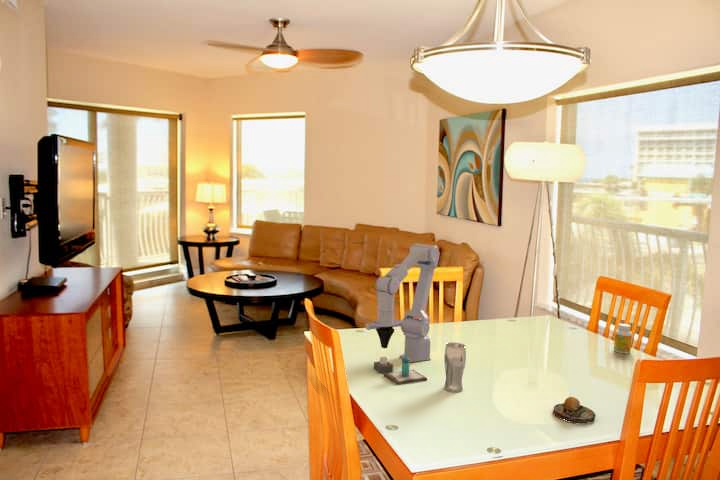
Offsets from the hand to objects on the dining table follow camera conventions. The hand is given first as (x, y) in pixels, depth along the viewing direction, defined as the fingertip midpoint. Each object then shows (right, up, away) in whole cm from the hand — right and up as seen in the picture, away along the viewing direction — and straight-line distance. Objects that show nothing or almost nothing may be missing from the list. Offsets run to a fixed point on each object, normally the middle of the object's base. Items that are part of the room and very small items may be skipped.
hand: (384, 347), depth 208 cm
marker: (+7, -9, -6) cm, 13 cm away
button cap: (0, -7, +1) cm, 7 cm away
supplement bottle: (+101, -8, +35) cm, 107 cm away
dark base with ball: (+56, -15, -32) cm, 66 cm away
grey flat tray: (+7, -10, -6) cm, 13 cm away
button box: (0, -8, +1) cm, 8 cm away
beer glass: (+22, -11, -14) cm, 29 cm away
